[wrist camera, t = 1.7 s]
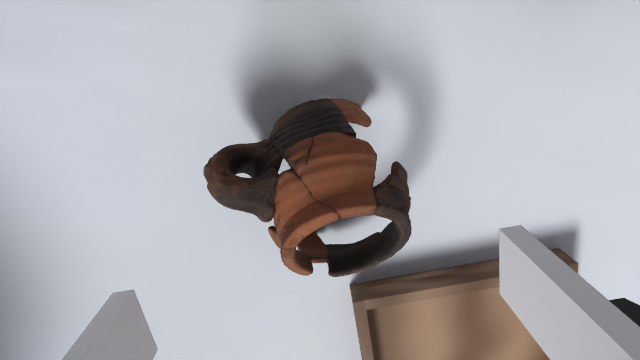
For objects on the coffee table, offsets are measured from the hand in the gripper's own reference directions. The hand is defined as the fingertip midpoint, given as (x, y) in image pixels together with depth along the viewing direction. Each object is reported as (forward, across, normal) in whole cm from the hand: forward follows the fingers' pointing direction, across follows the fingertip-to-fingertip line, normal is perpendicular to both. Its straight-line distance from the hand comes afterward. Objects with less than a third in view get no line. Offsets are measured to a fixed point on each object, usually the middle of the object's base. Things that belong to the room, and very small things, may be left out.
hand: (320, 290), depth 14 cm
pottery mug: (+12, 0, 0) cm, 13 cm away
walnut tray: (+12, +9, -17) cm, 23 cm away
